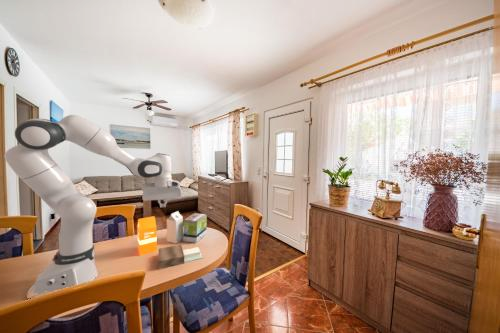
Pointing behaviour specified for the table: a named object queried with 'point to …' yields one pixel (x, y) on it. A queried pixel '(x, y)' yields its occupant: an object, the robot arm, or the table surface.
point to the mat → (193, 258)
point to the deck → (170, 256)
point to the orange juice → (147, 235)
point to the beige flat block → (191, 252)
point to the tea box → (195, 227)
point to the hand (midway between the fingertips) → (162, 207)
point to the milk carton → (175, 228)
